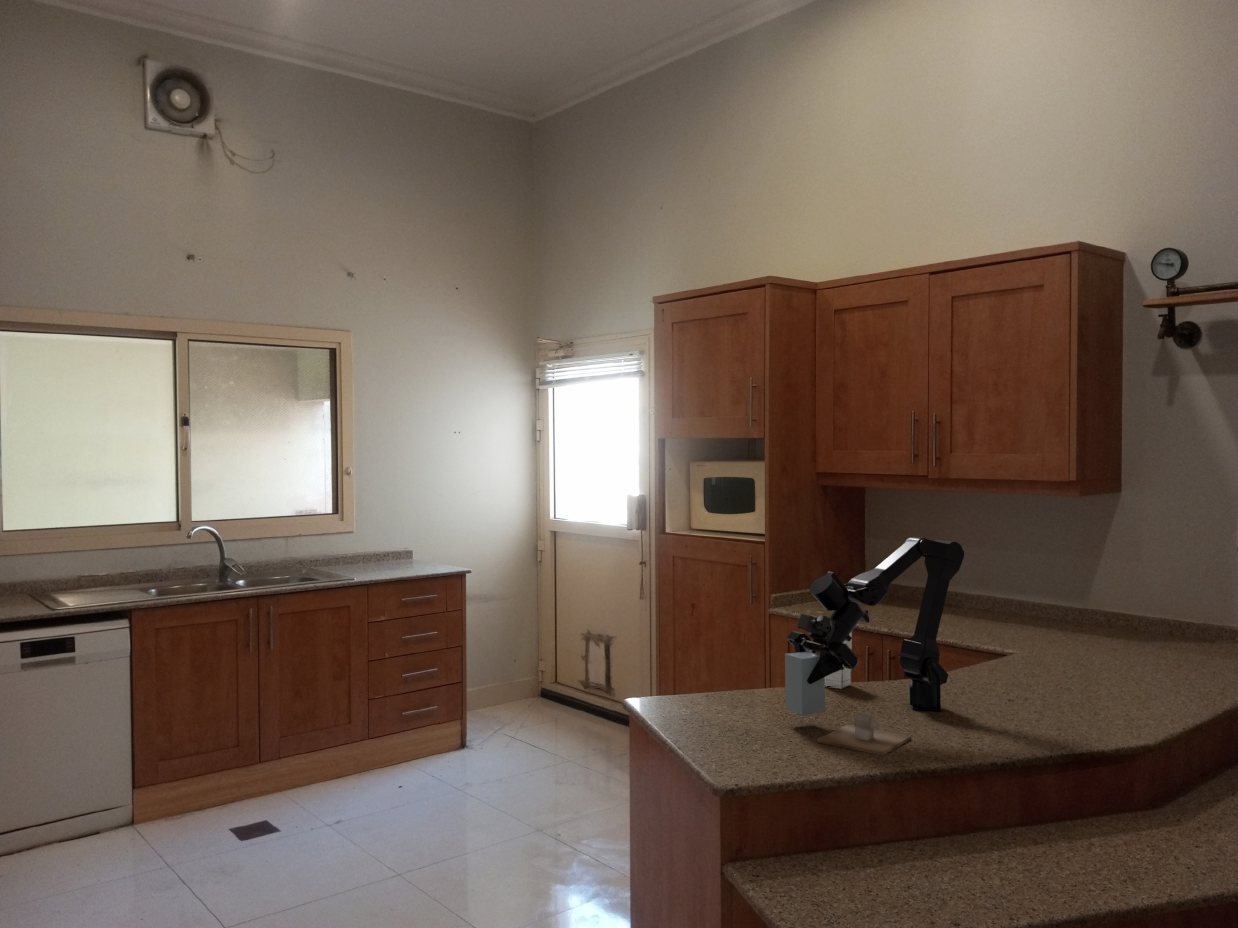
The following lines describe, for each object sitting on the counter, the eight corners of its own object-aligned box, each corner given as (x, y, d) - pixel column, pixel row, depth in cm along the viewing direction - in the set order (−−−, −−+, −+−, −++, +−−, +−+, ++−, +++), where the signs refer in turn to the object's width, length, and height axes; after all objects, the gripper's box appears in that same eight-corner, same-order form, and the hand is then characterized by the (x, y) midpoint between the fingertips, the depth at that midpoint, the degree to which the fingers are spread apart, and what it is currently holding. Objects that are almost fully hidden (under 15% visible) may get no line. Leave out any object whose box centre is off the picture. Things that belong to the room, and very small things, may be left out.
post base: (847, 727, 198) (847, 703, 198) (911, 738, 189) (910, 714, 190) (816, 742, 188) (816, 716, 188) (882, 755, 179) (882, 728, 179)
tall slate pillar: (807, 705, 204) (807, 651, 204) (825, 711, 199) (824, 656, 199) (785, 708, 201) (785, 653, 202) (802, 715, 196) (801, 658, 196)
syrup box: (831, 682, 241) (830, 626, 241) (852, 685, 237) (852, 628, 237) (821, 686, 236) (820, 629, 236) (842, 689, 232) (842, 631, 233)
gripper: (793, 595, 210) (752, 648, 205) (846, 605, 193) (803, 663, 189) (821, 627, 214) (782, 679, 209) (876, 640, 197) (835, 698, 192)
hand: (799, 679), depth 199 cm, fingers closed on tall slate pillar, 6 cm apart
